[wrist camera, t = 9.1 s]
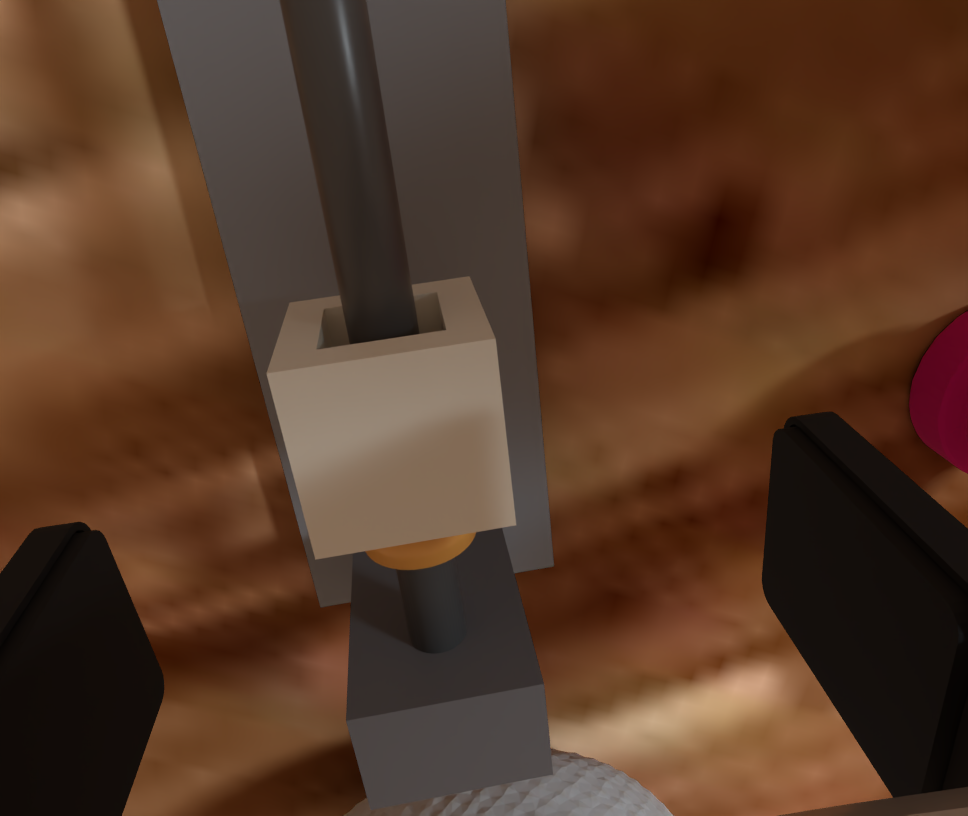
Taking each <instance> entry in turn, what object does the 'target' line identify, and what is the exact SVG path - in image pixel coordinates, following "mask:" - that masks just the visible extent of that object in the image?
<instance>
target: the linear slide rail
mask: <svg viewBox="0 0 968 816" xmlns="http://www.w3.org/2000/svg"><path fill="white" fill-rule="evenodd" d="M157 2H158V6H159V10H160V13H161V17H162V21H163V25H164V28H165V32H166V36H167V39H168V43H169V47H170V51H171V54H172V58H173V62H174V65H175V69H176V73H177V77H178V80H179V84H180V88H181V91H182V95H183V99H184V103H185V106H186V110H187V114H188V117H189V121H190V125H191V129H192V132H193V136H194V140H195V143H196V147H197V151H198V155H199V158H200V162H201V166H202V169H203V173H204V177H205V181H206V184H207V188H208V192H209V195H210V199H211V203H212V207H213V210H214V214H215V218H216V221H217V225H218V229H219V233H220V236H221V240H222V244H223V247H224V251H225V255H226V259H227V262H228V266H229V270H230V273H231V277H232V281H233V285H234V288H235V292H236V296H237V299H238V303H239V307H240V311H241V314H242V318H243V322H244V325H245V329H246V333H247V337H248V340H249V344H250V348H251V351H252V355H253V359H254V363H255V366H256V370H257V374H258V377H259V381H260V385H261V389H262V392H263V396H264V400H265V403H266V407H267V411H268V415H269V418H270V422H271V426H272V429H273V433H274V437H275V441H276V444H277V448H278V452H279V455H280V459H281V463H282V467H283V470H284V474H285V478H286V481H287V485H288V489H289V493H290V496H291V500H292V504H293V507H294V511H295V515H296V519H297V522H298V526H299V530H300V533H301V537H302V541H303V545H304V548H305V552H306V556H307V559H308V563H309V567H310V571H311V574H312V578H313V582H314V585H315V589H316V593H317V596H318V600H319V604H320V607H326V606H332V605H337V604H343V603H349V602H351V612H350V637H349V662H348V687H347V713H346V722H347V726H348V729H349V733H350V737H351V740H352V744H353V748H354V751H355V755H356V759H357V762H358V766H359V770H360V773H361V777H362V781H363V784H364V788H365V792H366V795H367V799H368V803H369V806H370V810H375V809H380V808H385V807H390V806H395V805H400V804H405V803H410V802H416V801H421V800H426V799H431V798H436V797H441V796H446V795H451V794H456V793H461V792H467V791H472V790H477V789H482V788H487V787H492V786H497V785H502V784H507V783H513V782H518V781H523V780H528V779H533V778H538V777H543V776H548V775H553V767H552V758H551V748H550V738H549V728H548V719H547V709H546V699H545V690H544V682H543V679H542V675H541V671H540V667H539V664H538V660H537V656H536V653H535V649H534V645H533V641H532V638H531V634H530V630H529V626H528V623H527V619H526V615H525V612H524V608H523V604H522V600H521V597H520V593H519V589H518V586H517V582H516V578H515V574H514V573H519V572H525V571H531V570H536V569H542V568H548V567H553V566H554V559H553V547H552V536H551V524H550V512H549V501H548V489H547V478H546V466H545V454H544V443H543V431H542V419H541V408H540V396H539V384H538V373H537V361H536V350H535V338H534V326H533V315H532V303H531V291H530V280H529V268H528V257H527V245H526V233H525V222H524V210H523V198H522V187H521V175H520V163H519V152H518V140H517V129H516V117H515V105H514V94H513V82H512V70H511V59H510V47H509V35H508V24H507V12H506V1H505V0H157ZM468 276H470V279H471V281H472V284H473V286H474V288H475V291H476V293H477V295H478V298H479V300H480V303H481V305H482V307H483V310H484V312H485V314H486V317H487V319H488V322H489V324H490V326H491V329H492V331H493V333H494V336H495V338H496V346H497V355H498V364H499V373H500V382H501V391H502V400H503V409H504V418H505V427H506V436H507V445H508V454H509V463H510V472H511V481H512V490H513V499H514V509H515V518H516V525H515V526H509V527H503V528H497V529H492V530H486V531H480V532H474V533H468V534H462V535H456V536H451V537H445V538H439V539H433V540H427V541H421V542H416V543H410V544H404V545H398V546H392V547H386V548H381V549H375V550H369V551H363V552H357V553H351V554H346V555H340V556H334V557H328V558H322V559H316V560H315V556H314V552H313V549H312V545H311V541H310V537H309V533H308V530H307V526H306V522H305V518H304V514H303V511H302V507H301V503H300V499H299V496H298V492H297V488H296V484H295V480H294V477H293V473H292V469H291V465H290V461H289V458H288V454H287V450H286V446H285V442H284V439H283V435H282V431H281V427H280V423H279V420H278V416H277V412H276V408H275V404H274V401H273V397H272V393H271V389H270V385H269V382H268V378H267V374H266V373H267V370H268V367H269V364H270V361H271V358H272V355H273V352H274V349H275V346H276V343H277V340H278V337H279V334H280V330H281V327H282V324H283V321H284V318H285V315H286V312H287V309H288V306H289V303H290V302H297V301H304V300H311V299H318V298H324V297H331V296H338V295H340V299H341V304H342V309H343V314H344V318H345V323H346V328H347V333H348V338H349V343H350V345H351V344H357V343H364V342H370V341H377V340H384V339H390V338H397V337H403V336H410V335H417V334H420V333H419V327H418V321H417V315H416V308H415V302H414V296H413V289H412V285H413V284H420V283H427V282H434V281H440V280H447V279H454V278H461V277H468Z"/></svg>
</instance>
